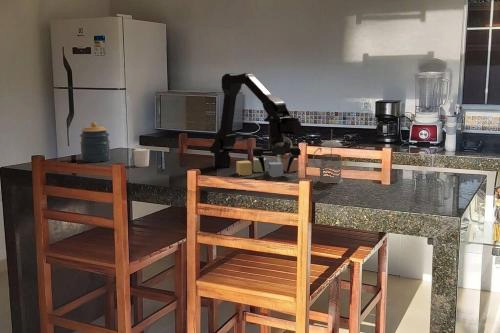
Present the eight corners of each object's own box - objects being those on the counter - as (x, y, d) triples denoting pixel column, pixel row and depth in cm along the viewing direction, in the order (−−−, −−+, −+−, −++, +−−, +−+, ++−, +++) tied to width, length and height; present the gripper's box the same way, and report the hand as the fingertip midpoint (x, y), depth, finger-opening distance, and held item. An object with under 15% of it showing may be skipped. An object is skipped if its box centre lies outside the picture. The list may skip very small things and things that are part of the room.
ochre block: (239, 175, 219) (239, 163, 218) (236, 173, 224) (236, 161, 223) (251, 175, 221) (251, 162, 220) (248, 172, 225) (248, 160, 225)
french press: (343, 184, 203) (345, 115, 199) (311, 183, 205) (312, 115, 201) (344, 178, 213) (346, 113, 208) (313, 177, 215) (315, 112, 210)
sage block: (253, 172, 227) (253, 160, 226) (253, 169, 232) (253, 157, 231) (265, 172, 226) (265, 160, 226) (265, 169, 231) (265, 157, 230)
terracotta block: (287, 172, 225) (287, 160, 225) (282, 170, 230) (282, 158, 229) (298, 171, 227) (298, 159, 226) (293, 169, 232) (293, 157, 231)
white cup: (151, 164, 244) (151, 148, 243) (147, 167, 238) (147, 150, 236) (136, 164, 245) (136, 148, 244) (131, 166, 238) (131, 150, 237)
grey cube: (270, 177, 216) (270, 164, 215) (268, 174, 221) (268, 162, 220) (283, 177, 217) (283, 164, 216) (281, 174, 222) (281, 162, 221)
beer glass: (286, 170, 236) (286, 154, 223) (273, 162, 238) (271, 146, 225) (295, 158, 238) (295, 141, 225) (282, 150, 241) (281, 133, 227)
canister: (79, 159, 258) (76, 121, 254) (107, 157, 263) (105, 119, 260) (83, 163, 246) (81, 124, 243) (113, 161, 251) (111, 122, 248)
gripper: (254, 136, 207) (254, 177, 210) (304, 135, 209) (303, 176, 212) (251, 133, 218) (251, 172, 221) (298, 132, 220) (297, 171, 223)
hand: (275, 173), depth 219 cm, fingers open, 9 cm apart
